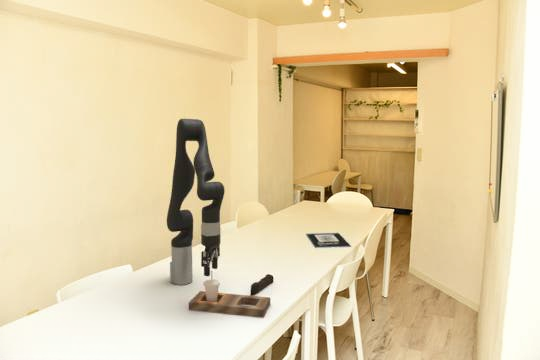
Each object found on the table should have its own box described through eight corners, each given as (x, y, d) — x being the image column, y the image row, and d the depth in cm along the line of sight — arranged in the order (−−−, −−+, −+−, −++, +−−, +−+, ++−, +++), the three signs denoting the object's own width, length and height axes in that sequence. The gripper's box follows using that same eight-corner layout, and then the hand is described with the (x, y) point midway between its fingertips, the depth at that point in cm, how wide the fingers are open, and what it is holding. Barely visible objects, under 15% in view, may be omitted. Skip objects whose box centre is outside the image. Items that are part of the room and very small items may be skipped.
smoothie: (220, 302, 181) (220, 268, 180) (219, 308, 175) (219, 274, 173) (204, 302, 181) (204, 269, 179) (203, 308, 175) (202, 274, 173)
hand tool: (266, 281, 205) (266, 271, 205) (273, 283, 204) (273, 273, 203) (245, 295, 189) (245, 285, 188) (253, 297, 187) (253, 286, 186)
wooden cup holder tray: (188, 309, 174) (188, 301, 174) (200, 297, 186) (200, 290, 185) (263, 317, 167) (263, 309, 167) (270, 304, 179) (270, 297, 179)
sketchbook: (315, 249, 259) (315, 245, 259) (305, 235, 289) (305, 232, 288) (351, 247, 261) (351, 244, 261) (338, 234, 291) (338, 231, 291)
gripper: (208, 227, 182) (208, 265, 184) (194, 236, 168) (195, 277, 170) (225, 228, 180) (225, 267, 182) (213, 238, 166) (213, 279, 169)
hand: (210, 272), depth 176 cm, fingers open, 8 cm apart
